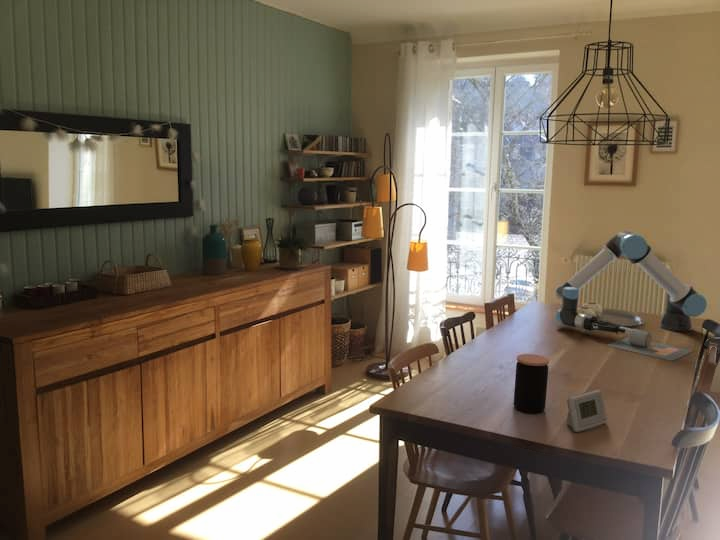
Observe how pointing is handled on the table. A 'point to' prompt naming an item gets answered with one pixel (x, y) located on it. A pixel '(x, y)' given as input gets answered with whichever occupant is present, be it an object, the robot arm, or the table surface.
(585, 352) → the table surface
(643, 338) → the ceramic mug
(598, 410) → the digital clock
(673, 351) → the t mat
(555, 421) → the table surface
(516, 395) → the coffee jar
